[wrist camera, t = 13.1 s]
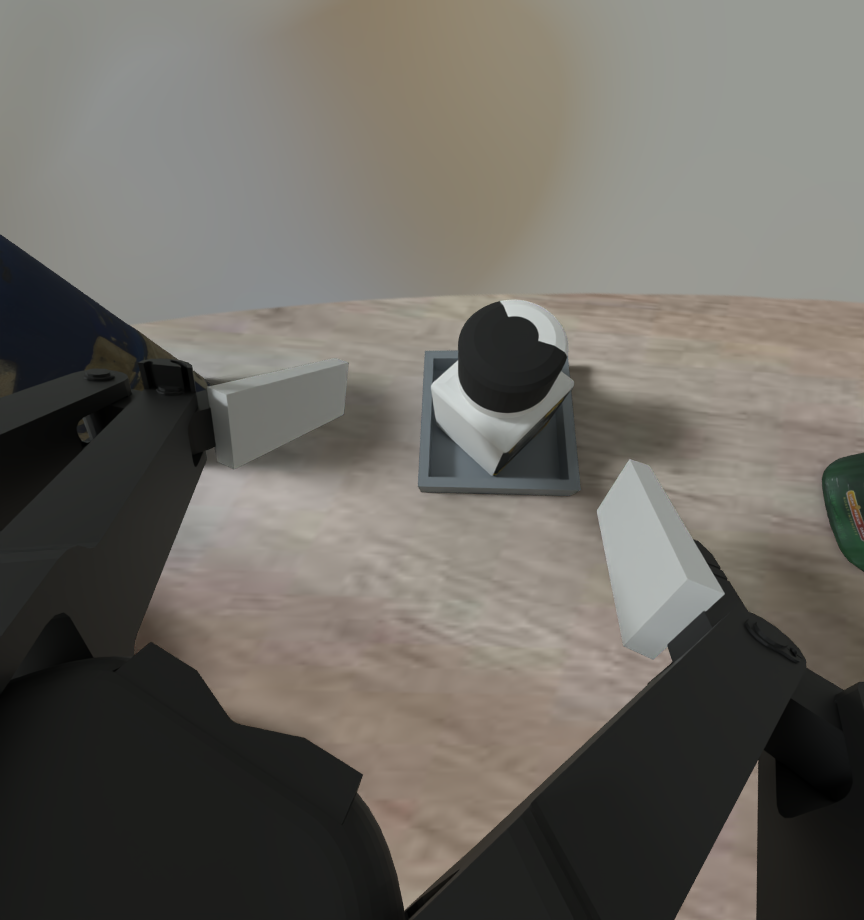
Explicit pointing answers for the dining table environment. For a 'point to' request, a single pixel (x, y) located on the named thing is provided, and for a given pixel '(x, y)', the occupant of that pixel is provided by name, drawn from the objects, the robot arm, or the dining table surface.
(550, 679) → the dining table surface
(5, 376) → the canister
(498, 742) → the dining table surface
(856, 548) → the coffee jar
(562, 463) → the tray
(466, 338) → the medicine bottle
